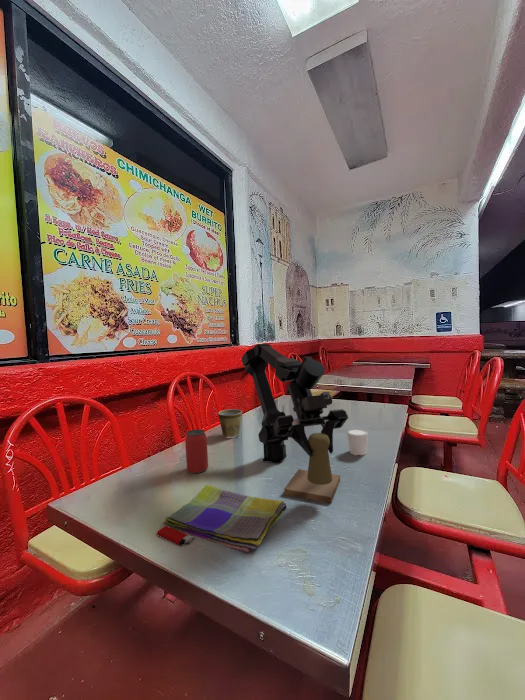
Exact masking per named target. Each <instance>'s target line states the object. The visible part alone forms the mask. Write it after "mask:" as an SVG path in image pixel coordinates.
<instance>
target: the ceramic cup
mask: <svg viewBox="0 0 525 700" xmlns="http://www.w3.org/2000/svg"><path fill="white" fill-rule="evenodd" d="M217 414H218V421H219V424H220V428H221V432H222V433H221V434H222V436H223V437H224V438H225V437H235V438H238V437H239V435H240V430H241V423H242V417H243V410H241V409H236V408H230V409H224V410H220V411H219V412H217ZM237 436H238V437H237Z"/></svg>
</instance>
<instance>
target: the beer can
mask: <svg viewBox="0 0 525 700" xmlns="http://www.w3.org/2000/svg"><path fill="white" fill-rule="evenodd" d="M185 435H186V436H185V439H184V440H185V442H184V443H185V444H184V445H185V456H186V457H185V460H186V461H185V462H186V470H187V472H189V473H190V472H191V473H190V474H199V473H200V472H201V473H203V472H205V471H206V470H207V469H208V468H209V454H208V438H207V435H206V433H205V430H204V429H202V428H201V429H200V428H199V429H191V430H188V431H187V432H186V434H185Z"/></svg>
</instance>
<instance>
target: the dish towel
mask: <svg viewBox="0 0 525 700" xmlns="http://www.w3.org/2000/svg"><path fill="white" fill-rule="evenodd" d="M286 510H287V503H286V502H284V500H278V499H270V498H268V499H267V498H260V497H256V496H250V495H244V494H241V493H237V492H233V491H230V490H229V491H228V490H224V489H221V488H218V487H216V486H212V485H209V484H205V485H204V486H203V487H202V489H201V490H200V491H199V492H198V493H197V495H195V497H193V498H192V499H191V500H190V501H189V502H187V504H185V505H183V506H182V507H180V508H179V509H178V510H176V511H174V512H173V513H171V515H168V516H166V517H165V518H164V521H163V522H164V523H163V524H165V523H166V525H167V524H168V525H167V526H169V525H170V526H169V527H171V526H172V527H171V528H173V527H174V528H173V529H176V530H178V531H180V532H183V533H186V534H187V533H188V535H189V534H190V535H191V536H193V537H194V536H195V537H197V538H200V539H202V540H205V541H208V542H211V543H213V544H218V545H220V546H224V547H226V548H230V549H233V550H237V551H242V552H245V553H250V552H251V551H252V550H256V549H257V547H259V546H260V545H261V544H262V541H263V540H264V538H265V536H266V534H267V533H268V532H269V531H270V529H271V528H272V527H273V525H275V523H276V522H278V519H280V517H281V516H282V515H283V514H284V513H285V512H286Z"/></svg>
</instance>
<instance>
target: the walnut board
mask: <svg viewBox="0 0 525 700" xmlns="http://www.w3.org/2000/svg"><path fill="white" fill-rule="evenodd" d="M307 476H308V469H307V470H306V469H300V468H299V469H297V471H296V472H295V473H294V475H293V476H292V477H291V479H290V480H289V481H288V483H287V484H286V486H285V487H284V488H283V491H284V495H286V496H291V497H295V498H296V497H297V498H302V499H306V500H312V501H317V502H324V503H328V504H332V502H333V500H334V497H335V496H336V492H337V490H338V487H339V485H340V482H341V475H340V474H333V473H332V482H330V483H329V484H325V485H318V484H313V483H311V482H309V480H308V479H307Z"/></svg>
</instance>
